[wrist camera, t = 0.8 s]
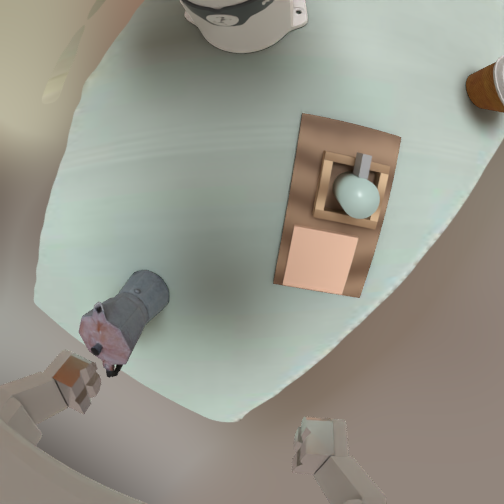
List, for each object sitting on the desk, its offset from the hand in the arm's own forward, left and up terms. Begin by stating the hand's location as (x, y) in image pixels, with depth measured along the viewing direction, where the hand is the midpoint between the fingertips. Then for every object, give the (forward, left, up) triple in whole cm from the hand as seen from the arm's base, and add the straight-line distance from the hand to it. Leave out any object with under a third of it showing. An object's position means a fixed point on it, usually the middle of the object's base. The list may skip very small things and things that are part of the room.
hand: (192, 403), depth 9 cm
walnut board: (+1, +10, -37) cm, 38 cm away
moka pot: (+22, -20, -37) cm, 47 cm away
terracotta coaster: (+9, +9, -36) cm, 38 cm away
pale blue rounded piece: (-5, +11, -36) cm, 38 cm away
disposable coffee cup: (-26, +32, -37) cm, 56 cm away
